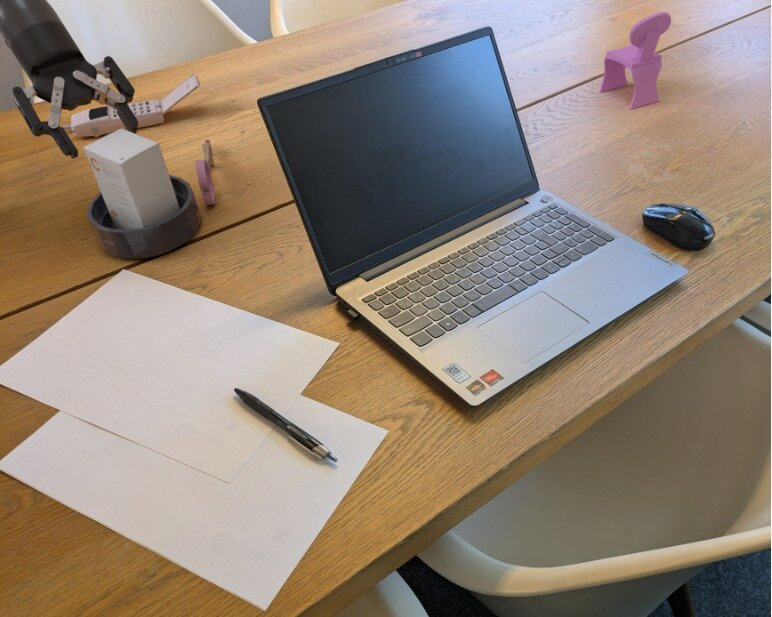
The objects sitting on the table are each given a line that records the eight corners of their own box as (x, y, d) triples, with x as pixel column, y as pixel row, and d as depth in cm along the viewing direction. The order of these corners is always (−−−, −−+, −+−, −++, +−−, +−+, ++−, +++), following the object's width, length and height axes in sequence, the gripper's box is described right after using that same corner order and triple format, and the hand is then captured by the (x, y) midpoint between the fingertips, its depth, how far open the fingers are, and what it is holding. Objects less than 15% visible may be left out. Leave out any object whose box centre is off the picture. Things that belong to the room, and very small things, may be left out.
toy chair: (628, 81, 122) (646, -4, 112) (663, 99, 116) (685, 11, 106) (592, 92, 119) (607, 5, 109) (626, 111, 114) (645, 21, 103)
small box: (186, 224, 94) (160, 142, 85) (150, 247, 90) (119, 164, 81) (149, 207, 98) (121, 126, 89) (114, 228, 94) (81, 147, 85)
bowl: (129, 276, 87) (117, 245, 84) (82, 232, 95) (69, 203, 91) (220, 228, 94) (212, 199, 90) (169, 191, 102) (160, 163, 98)
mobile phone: (200, 85, 116) (50, 112, 110) (208, 116, 120) (63, 144, 114) (196, 72, 120) (51, 98, 115) (203, 103, 124) (64, 129, 118)
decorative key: (218, 162, 113) (214, 210, 96) (211, 163, 113) (205, 211, 96) (209, 123, 109) (203, 166, 93) (201, 124, 109) (194, 167, 93)
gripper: (-20, 37, 80) (55, 153, 82) (89, 5, 87) (157, 112, 89) (-16, 68, 87) (54, 174, 88) (86, 36, 94) (149, 135, 95)
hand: (106, 143), depth 89 cm, fingers open, 8 cm apart
